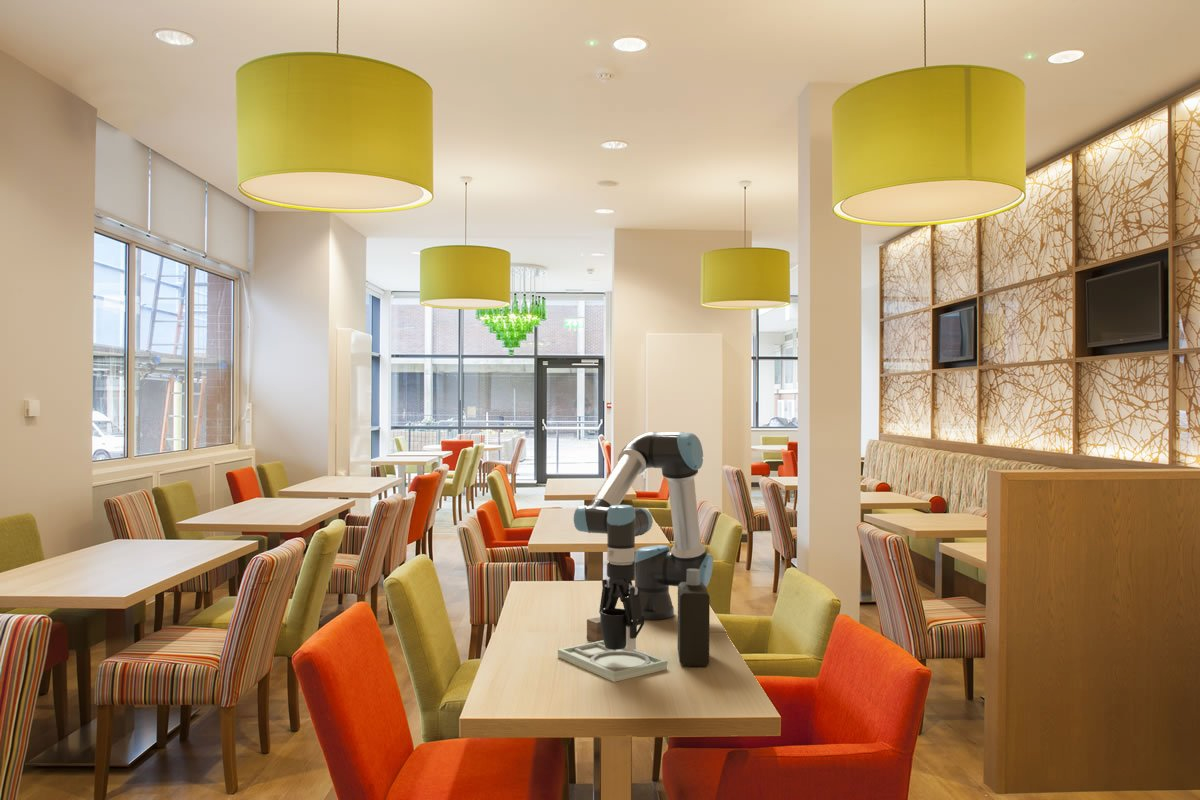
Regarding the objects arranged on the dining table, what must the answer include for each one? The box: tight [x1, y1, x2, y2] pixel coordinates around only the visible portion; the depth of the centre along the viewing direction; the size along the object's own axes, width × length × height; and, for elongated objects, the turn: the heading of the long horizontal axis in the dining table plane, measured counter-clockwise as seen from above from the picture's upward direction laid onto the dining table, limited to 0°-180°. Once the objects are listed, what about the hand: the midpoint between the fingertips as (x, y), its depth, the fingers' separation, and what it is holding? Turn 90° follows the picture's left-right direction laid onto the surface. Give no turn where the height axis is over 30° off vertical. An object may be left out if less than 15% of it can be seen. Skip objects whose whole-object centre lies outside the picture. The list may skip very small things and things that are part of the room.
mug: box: [599, 607, 646, 650], centre depth 223 cm, size 8×12×10 cm
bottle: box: [677, 568, 711, 668], centre depth 232 cm, size 8×16×25 cm, turn 177°
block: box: [586, 616, 603, 642], centre depth 250 cm, size 5×5×6 cm
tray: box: [557, 640, 668, 683], centre depth 227 cm, size 18×26×2 cm
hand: (620, 645), depth 224 cm, fingers closed on mug, 9 cm apart
